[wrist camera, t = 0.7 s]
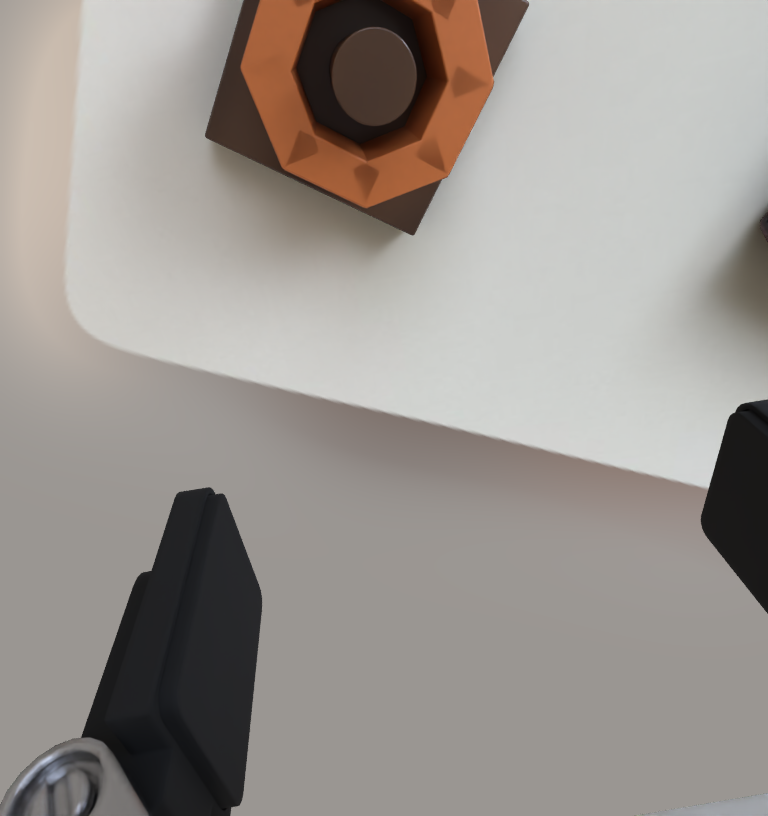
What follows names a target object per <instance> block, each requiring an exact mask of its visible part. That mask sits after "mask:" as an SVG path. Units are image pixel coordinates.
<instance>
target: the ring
mask: <svg viewBox="0 0 768 816" xmlns="http://www.w3.org/2000/svg"><path fill="white" fill-rule="evenodd" d="M339 1H342V0H260V2H259V5H258V8H257V12H256V15H255V19H254V22H253V25H252V29H251V32H250V35H249V39H248V42H247V45H246V49H245V52H244V55H243V59H242V62H241V65H240V68H241V72H242V74H243V76H244V79H245V81H246V84H247V86H248V88H249V91H250V93H251V95H252V98H253V100H254V103H255V105H256V107H257V110H258V112H259V114H260V117H261V119H262V122H263V124H264V126H265V129H266V131H267V133H268V136H269V138H270V141H271V143H272V145H273V148H274V150H275V152H276V155H277V157H278V160H279V162H280V164H281V167H282V168H283V169H284V170H285V171H288V172H290V173H292V174H294V175H296V176H298V177H300V178H302V179H304V180H306V181H309V182H311V183H313V184H315V185H317V186H319V187H321V188H323V189H325V190H327V191H329V192H332V193H334V194H336V195H338V196H340V197H342V198H344V199H346V200H348V201H350V202H353V203H355V204H357V205H359V206H361V207H363V208H369V207H371V206H374V205H376V204H379V203H381V202H384V201H387V200H389V199H392V198H394V197H397V196H400V195H402V194H405V193H407V192H410V191H413V190H415V189H418V188H420V187H423V186H426V185H428V184H431V183H433V182H436V181H439V180H441V179H444V178H446V177H448V175H449V174H450V172H451V170H452V168H453V166H454V164H455V162H456V160H457V158H458V156H459V154H460V152H461V150H462V148H463V146H464V144H465V142H466V140H467V138H468V136H469V134H470V132H471V130H472V128H473V126H474V124H475V122H476V120H477V118H478V116H479V114H480V112H481V110H482V108H483V106H484V104H485V102H486V100H487V98H488V96H489V94H490V92H491V90H492V88H493V84H494V80H493V75H492V70H491V65H490V60H489V55H488V50H487V45H486V40H485V35H484V30H483V25H482V20H481V14H480V9H479V4H478V0H381V1H383V2H385V3H386V4H388V5H390V6H391V7H393V8H394V9H396V10H398V11H399V12H401V13H403V14H404V15H406V16H407V17H409V18H411V19H412V21H413V25H414V28H415V32H416V36H417V40H418V44H419V48H420V52H421V56H422V60H423V63H424V67H425V71H426V75H427V78H426V80H425V82H424V84H423V86H422V89H421V91H420V93H419V95H418V98H417V100H416V102H415V104H414V107H413V109H412V111H411V113H410V115H409V118H408V120H407V122H406V124H405V126H404V127H402V128H399V129H397V130H394V131H392V132H389V133H387V134H384V135H382V136H379V137H377V138H374V139H372V140H369V141H367V142H364V143H362V144H359V143H357V142H355V141H353V140H351V139H349V138H347V137H345V136H343V135H341V134H339V133H337V132H335V131H333V130H331V129H329V128H328V127H326V126H324V125H322V124H320V123H318V122H316V120H315V117H314V115H313V112H312V109H311V106H310V104H309V101H308V98H307V96H306V93H305V90H304V88H303V85H302V82H301V80H300V77H299V74H298V71H297V69H296V67H297V64H298V61H299V58H300V55H301V52H302V49H303V46H304V43H305V41H306V38H307V35H308V32H309V29H310V26H311V23H312V20H313V17H314V14H315V12H316V11H318V10H321V9H323V8H325V7H328V6H330V5H332V4H335V3H337V2H339Z"/></svg>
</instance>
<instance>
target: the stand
mask: <svg viewBox="0 0 768 816" xmlns="http://www.w3.org/2000/svg"><path fill="white" fill-rule="evenodd" d="M259 2H260V0H244V1H243V4H242V7H241V11H240V14H239V18H238V21H237V25H236V28H235V32H234V35H233V39H232V42H231V46H230V49H229V53H228V56H227V60H226V63H225V67H224V70H223V74H222V77H221V81H220V84H219V88H218V91H217V95H216V98H215V102H214V105H213V109H212V112H211V116H210V119H209V123H208V126H207V130H206V133H205V137H206V138H207V139H209V140H211V141H214V142H216V143H218V144H220V145H222V146H224V147H226V148H228V149H230V150H233V151H235V152H237V153H239V154H241V155H243V156H245V157H247V158H249V159H252V160H254V161H256V162H258V163H260V164H262V165H264V166H266V167H268V168H271V169H273V170H275V171H277V172H279V173H281V174H283V175H285V176H287V177H290V178H292V179H294V180H296V181H298V182H300V183H302V184H304V185H307V186H309V187H311V188H313V189H315V190H317V191H319V192H321V193H323V194H326V195H328V196H330V197H332V198H334V199H336V200H338V201H340V202H342V203H345V204H347V205H349V206H351V207H353V208H355V209H357V210H359V211H361V212H364V213H366V214H368V215H370V216H372V217H374V218H376V219H378V220H380V221H383V222H385V223H387V224H389V225H391V226H393V227H395V228H397V229H399V230H402V231H404V232H406V233H408V234H410V235H414V234H415V232H416V230H417V228H418V226H419V224H420V222H421V220H422V218H423V216H424V214H425V212H426V210H427V208H428V206H429V204H430V202H431V200H432V198H433V196H434V194H435V192H436V190H437V188H438V186H439V184H440V182H441V180H442V179H441V180H439V181H436V182H433V183H431V184H428V185H426V186H423V187H420V188H418V189H415V190H413V191H410V192H407V193H405V194H402V195H400V196H397V197H394V198H392V199H389V200H387V201H384V202H381V203H379V204H376V205H374V206H371V207H369V208H363V207H361V206H359V205H357V204H355V203H353V202H350V201H348V200H346V199H344V198H342V197H340V196H338V195H336V194H334V193H332V192H329V191H327V190H325V189H323V188H321V187H319V186H317V185H315V184H313V183H311V182H309V181H306V180H304V179H302V178H300V177H298V176H296V175H294V174H292V173H290V172H288V171H285V170H284V169H283V168H282V167H281V164H280V162H279V160H278V157H277V155H276V152H275V150H274V148H273V145H272V143H271V141H270V138H269V136H268V133H267V131H266V129H265V126H264V124H263V122H262V119H261V117H260V114H259V112H258V110H257V107H256V105H255V103H254V100H253V98H252V95H251V93H250V91H249V88H248V86H247V84H246V81H245V79H244V76H243V74H242V72H241V68H240V65H241V62H242V59H243V55H244V52H245V49H246V45H247V42H248V39H249V35H250V32H251V29H252V25H253V22H254V19H255V15H256V12H257V8H258V5H259ZM478 4H479V9H480V14H481V20H482V25H483V30H484V35H485V40H486V45H487V50H488V55H489V60H490V65H491V70H492V75H493V76H494V74H495V72H496V70H497V68H498V66H499V64H500V62H501V60H502V58H503V56H504V54H505V52H506V50H507V48H508V46H509V44H510V42H511V40H512V38H513V36H514V34H515V32H516V30H517V28H518V26H519V24H520V22H521V20H522V18H523V16H524V14H525V12H526V10H527V8H528V6H529V2H528V1H527V0H478ZM296 69H297V71H298V74H299V77H300V80H301V82H302V85H303V88H304V90H305V93H306V96H307V98H308V101H309V104H310V106H311V109H312V112H313V115H314V117H315V120H316V122H318V123H320V124H322V125H324V126H326V127H328V128H329V129H331V130H333V131H335V132H337V133H339V134H341V135H343V136H345V137H347V138H349V139H351V140H353V141H355V142H357V143H359V144H362V143H364V142H367V141H369V140H372V139H374V138H377V137H379V136H382V135H384V134H387V133H389V132H392V131H394V130H397V129H399V128H402V127H404V126H405V124H406V122H407V120H408V118H409V115H410V113H411V111H412V109H413V107H414V104H415V102H416V100H417V98H418V95H419V93H420V91H421V89H422V86H423V84H424V82H425V80H426V78H427V75H426V71H425V67H424V63H423V60H422V56H421V52H420V48H419V44H418V40H417V36H416V32H415V28H414V25H413V21H412V19H411V18H409V17H407V16H406V15H404V14H403V13H401V12H399V11H398V10H396V9H394V8H393V7H391V6H390V5H388V4H386V3H385V2H383V1H381V0H342V1H339V2H337V3H335V4H332V5H330V6H328V7H325V8H323V9H321V10H318V11H316V12H315V14H314V17H313V20H312V23H311V26H310V29H309V32H308V35H307V38H306V41H305V43H304V46H303V49H302V52H301V55H300V58H299V61H298V64H297V67H296Z"/></svg>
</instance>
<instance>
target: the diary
mask: <svg viewBox="0 0 768 816" xmlns="http://www.w3.org/2000/svg"><path fill="white" fill-rule="evenodd" d="M760 229H761V231H762V232H763V234H764V236H765V238H766V240H767V242H768V212H767V213H766V214H765V216H764V217H763V218H762V219H761V220H760Z"/></svg>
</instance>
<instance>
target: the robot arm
mask: <svg viewBox="0 0 768 816" xmlns="http://www.w3.org/2000/svg"><path fill="white" fill-rule="evenodd" d="M701 525H702V529H703V531H704V533H705V535H706V536H707V538H708V539H709V540H710V542H711V543H712V544H713V545H714V547H715V548H716V549H717V550H718V552H719V553H720V554H721V555H722V557H723V558H724V559H725V561H726V562H727V563H728V564H729V566H730V567H731V568H732V569H733V570H734V572H735V573H736V574H737V576H738V577H739V578H740V579H741V581H742V582H743V583H744V584H745V585H746V587H747V588H748V589H749V590H750V592H751V593H752V594H753V596H754V597H755V598H756V600H757V601H758V602H759V603H760V605H761V606H762V607H763V608H764V610H765V611H766V612H767V613H768V400H762V401H755V402H749V403H744V404H741V405H740V406H739V407H738V408H737V410H736V412H735V413H733V414H731V415H730V417H729V419H728V422H727V425H726V429H725V433H724V436H723V440H722V443H721V447H720V450H719V454H718V458H717V461H716V465H715V468H714V472H713V476H712V479H711V483H710V486H709V490H708V493H707V497H706V501H705V504H704V508H703V511H702V515H701ZM261 612H262V595H261V590H260V587H259V584H258V581H257V579H256V576H255V573H254V571H253V568H252V565H251V563H250V560H249V558H248V555H247V552H246V550H245V547H244V545H243V542H242V539H241V536H240V534H239V531H238V528H237V526H236V523H235V520H234V518H233V515H232V513H231V510H230V508H229V504H228V502H227V499H226V497H225V495H224V494H216V495H215V493H214V491H213V489H211V488H202V489H196V490H189V491H183V492H179V493H178V494H177V495H176V497H175V499H174V503H173V505H172V508H171V512H170V515H169V518H168V521H167V524H166V528H165V530H164V534H163V537H162V540H161V543H160V546H159V549H158V553H157V555H156V559H155V562H154V565H153V568H152V571H149V572H143V573H141V574H140V575H139V576H138V578H137V580H136V581H135V584H134V586H133V588H132V592H131V594H130V597H129V600H128V603H127V606H126V609H125V612H124V615H123V618H122V620H121V624H120V626H119V629H118V632H117V635H116V638H115V641H114V644H113V647H112V650H111V652H110V655H109V658H108V661H107V664H106V667H105V670H104V673H103V676H102V679H101V682H100V684H99V687H98V690H97V693H96V696H95V699H94V702H93V705H92V708H91V711H90V714H89V716H88V719H87V722H86V725H85V728H84V731H83V734H82V737H81V738H76V739H71V740H68V741H66V742H63V743H60V744H58V745H55V746H54V747H52V748H51V749H49V750H48V751H46V752H45V753H43V754H41V755H40V756H38V757H37V758H36V759H35V760H34V761H33V762H32V763H31V764H30V765H29V766H27V767H26V768H25V769H24V770H23V771H22V772H21V773H20V775H19V776H18V777H17V778H16V780H15V781H14V782H13V784H12V785H11V786H10V788H9V789H8V790H7V792H6V794H5V796H4V798H3V800H2V802H1V804H0V816H230V813H231V807H235V806H239V805H240V803H241V801H242V797H243V791H244V781H245V771H246V761H247V751H248V742H249V732H250V722H251V712H252V702H253V692H254V682H255V672H256V662H257V651H258V643H259V633H260V623H261ZM636 816H768V793H766V794H760V795H754V796H748V797H742V798H736V799H731V800H724V801H719V802H713V803H707V804H701V805H695V806H689V807H683V808H677V809H671V810H665V811H660V812H654V813H648V814H642V815H636Z"/></svg>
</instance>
